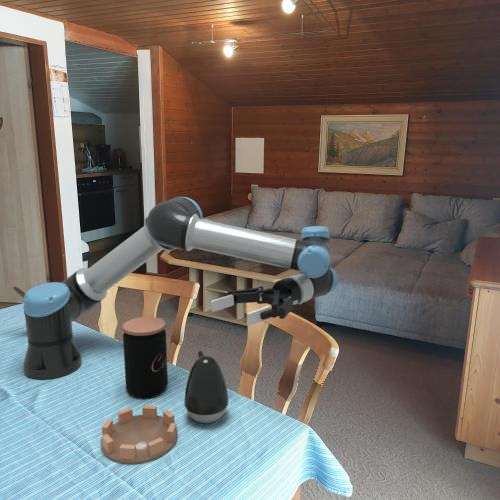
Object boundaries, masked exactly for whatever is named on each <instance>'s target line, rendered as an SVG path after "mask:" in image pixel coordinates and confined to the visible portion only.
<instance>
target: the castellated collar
mask: <svg viewBox="0 0 500 500" xmlns="http://www.w3.org/2000/svg"><path fill="white" fill-rule="evenodd" d="M157 407H158V406H157V405H143V406H142V414H137V415H133V409H132V407H128V408H125V409H123V410H119V411H117V422H115V423H114V421H113V420H114V419H110V418H107V419H106V420H105V422H104V424H103V425H102V426H101V440H100V447H101V448H100V449H101V451H102V454H103V455H104V456H105V457H106V458H107V459H109V460H110V461H113V462H114V463H118V464H123V465H124V464H125V465H138V464H144V463H148V462H152V461H155V460H156V459H159V458H161V457H163V456H165V455H167V453H169V452H170V451H171V450H172V449H173V448H174V447H175V445H176V443H177V441H178V436H179V435H178V429H177V428H178V427H177V423H175V422H176V421H175V415H174V414H173V413H172V412H171V411H170V410H169V409H165V410H163V411H162V415H158V409H157Z"/></svg>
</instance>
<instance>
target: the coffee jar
mask: <svg viewBox="0 0 500 500" xmlns="http://www.w3.org/2000/svg"><path fill="white" fill-rule="evenodd" d="M166 324H167V323H166V321H165V320H164V319H163V318H160V317H156V316H140V317H135V318H134V317H133V318H132V319H129V320H127V321H125V322H124V323H123V324H122V331H123V332H124V333H123V334H122V341H123V342H122V343H123V344H122V345H123V357H124V374H125V377H124V378H125V390H126V392H128V393H129V395H130V396H132V397H134V398H136V399H151V398H155V397H157V396H159V395H161V394H163V393H164V391H165V390H166V389H167V386H168V384H169V382H168V381H169V379H168V376H169V375H168V354H167V350H168V349H167V333H166V329H165V328H166Z"/></svg>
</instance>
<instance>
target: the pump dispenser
mask: <svg viewBox="0 0 500 500" xmlns="http://www.w3.org/2000/svg"><path fill="white" fill-rule="evenodd" d="M197 355H198V358H197V359H196V360H195V362H194V363H193V364H192V367H191V369H190V372H189V375H188V379H187V382H186V387H185V391H184V403H183V404H184V407H185V409H186V411H187V413H188V415H189V417H190V418H191V419H193V420H194V421H196V422H198V423H202V424H210V423H211V424H212V423H214V422H216V421H218V420H219V419H221V418H222V417H223V415H224V414H225V412H226V411H227V407H228V405H229V402H230V401H229V392H228V387H227V383H226V378H225V375H224V373H223V369H222V368H221V365H220V364H219V362H218V360H216V359H215V357H213V356H211V355H205V354H204V353H203V351H202V350H200V351H198V353H197Z"/></svg>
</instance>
